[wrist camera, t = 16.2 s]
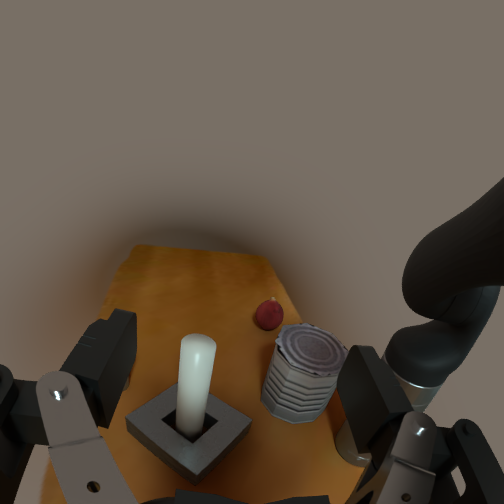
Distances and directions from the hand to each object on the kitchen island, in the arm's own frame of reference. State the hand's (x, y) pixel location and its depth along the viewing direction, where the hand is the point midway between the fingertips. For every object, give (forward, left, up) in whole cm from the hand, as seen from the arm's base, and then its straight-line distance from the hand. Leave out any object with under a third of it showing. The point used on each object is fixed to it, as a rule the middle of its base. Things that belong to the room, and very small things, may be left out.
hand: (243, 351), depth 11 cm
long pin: (-12, -11, -30) cm, 34 cm away
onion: (-44, -17, -30) cm, 56 cm away
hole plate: (-12, -11, -30) cm, 34 cm away
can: (-29, -3, -30) cm, 42 cm away
